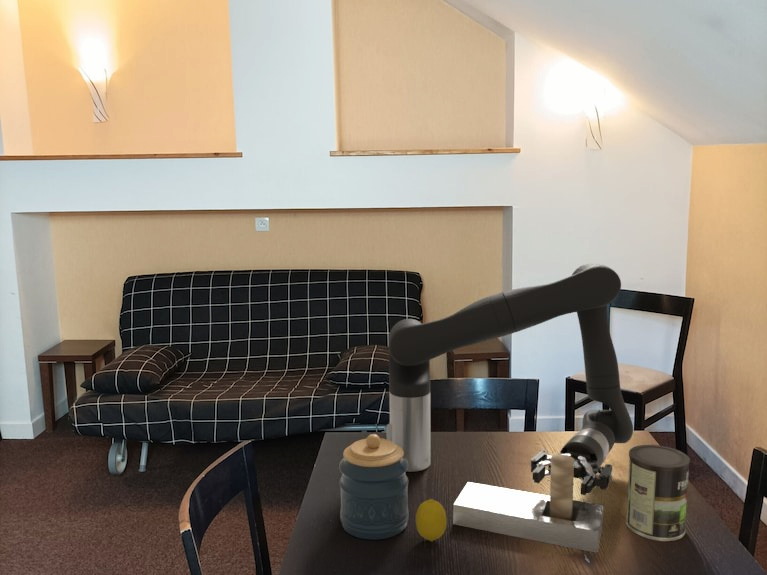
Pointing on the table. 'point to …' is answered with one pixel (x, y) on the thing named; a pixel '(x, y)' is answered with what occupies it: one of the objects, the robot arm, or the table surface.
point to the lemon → (431, 520)
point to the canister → (374, 489)
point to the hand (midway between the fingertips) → (558, 484)
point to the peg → (561, 487)
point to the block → (528, 516)
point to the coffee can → (657, 492)
